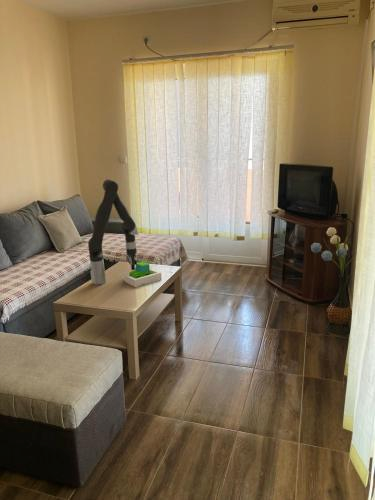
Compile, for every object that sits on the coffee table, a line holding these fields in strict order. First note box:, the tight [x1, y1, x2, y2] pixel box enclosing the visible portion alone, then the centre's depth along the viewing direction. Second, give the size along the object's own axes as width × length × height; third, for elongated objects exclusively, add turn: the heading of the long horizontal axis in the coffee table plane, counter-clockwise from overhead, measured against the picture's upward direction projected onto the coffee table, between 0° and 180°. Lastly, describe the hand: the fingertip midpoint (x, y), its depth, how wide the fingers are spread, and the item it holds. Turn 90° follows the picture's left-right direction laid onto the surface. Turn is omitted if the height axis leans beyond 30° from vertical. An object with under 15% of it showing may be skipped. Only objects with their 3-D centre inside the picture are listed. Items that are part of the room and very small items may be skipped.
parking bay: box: [123, 268, 162, 288], centre depth 286 cm, size 22×15×5 cm
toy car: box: [128, 261, 150, 279], centre depth 292 cm, size 10×13×10 cm
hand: (133, 269), depth 296 cm, fingers closed
